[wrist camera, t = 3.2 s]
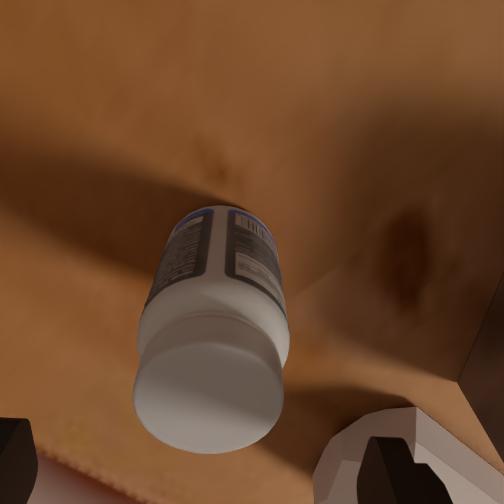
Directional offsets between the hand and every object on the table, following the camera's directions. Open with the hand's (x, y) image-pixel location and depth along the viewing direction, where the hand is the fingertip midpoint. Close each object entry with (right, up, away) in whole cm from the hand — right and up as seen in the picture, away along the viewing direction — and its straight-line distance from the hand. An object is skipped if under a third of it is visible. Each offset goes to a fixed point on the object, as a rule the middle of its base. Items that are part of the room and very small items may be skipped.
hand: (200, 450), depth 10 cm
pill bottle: (0, +5, +9) cm, 10 cm away
